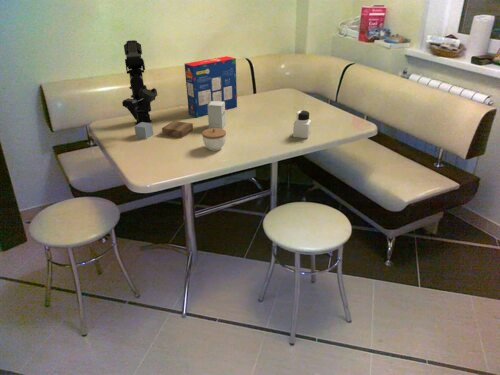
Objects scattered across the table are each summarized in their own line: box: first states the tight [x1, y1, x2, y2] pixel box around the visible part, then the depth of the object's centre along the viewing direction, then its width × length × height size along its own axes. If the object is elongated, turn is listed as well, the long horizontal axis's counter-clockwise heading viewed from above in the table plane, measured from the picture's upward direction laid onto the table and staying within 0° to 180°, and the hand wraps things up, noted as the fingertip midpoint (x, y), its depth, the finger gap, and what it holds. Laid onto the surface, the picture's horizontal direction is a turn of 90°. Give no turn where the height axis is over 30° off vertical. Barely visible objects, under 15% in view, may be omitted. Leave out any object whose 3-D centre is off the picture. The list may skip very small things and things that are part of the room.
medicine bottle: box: [292, 110, 312, 139], centre depth 198 cm, size 7×7×12 cm
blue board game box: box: [184, 55, 238, 119], centre depth 229 cm, size 28×8×28 cm, turn 129°
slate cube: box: [134, 122, 154, 140], centre depth 202 cm, size 6×6×6 cm
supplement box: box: [207, 101, 226, 130], centre depth 210 cm, size 7×7×13 cm
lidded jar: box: [201, 128, 227, 152], centre depth 187 cm, size 11×11×9 cm
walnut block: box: [161, 120, 194, 139], centre depth 206 cm, size 11×11×4 cm
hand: (141, 116), depth 198 cm, fingers open, 9 cm apart
